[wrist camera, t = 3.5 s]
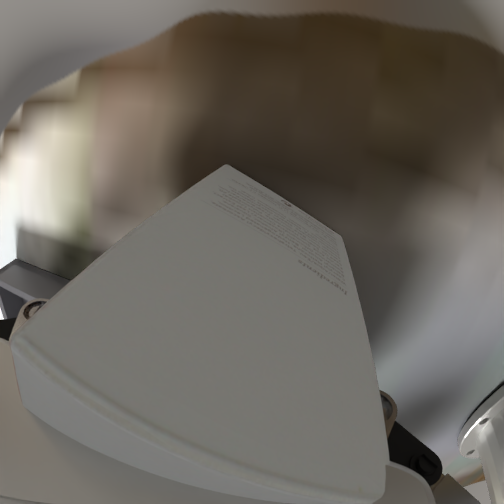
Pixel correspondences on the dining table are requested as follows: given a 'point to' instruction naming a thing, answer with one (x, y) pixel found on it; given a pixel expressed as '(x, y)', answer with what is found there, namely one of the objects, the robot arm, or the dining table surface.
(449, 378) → the dining table surface
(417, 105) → the dining table surface
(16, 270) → the tray
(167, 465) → the small box
